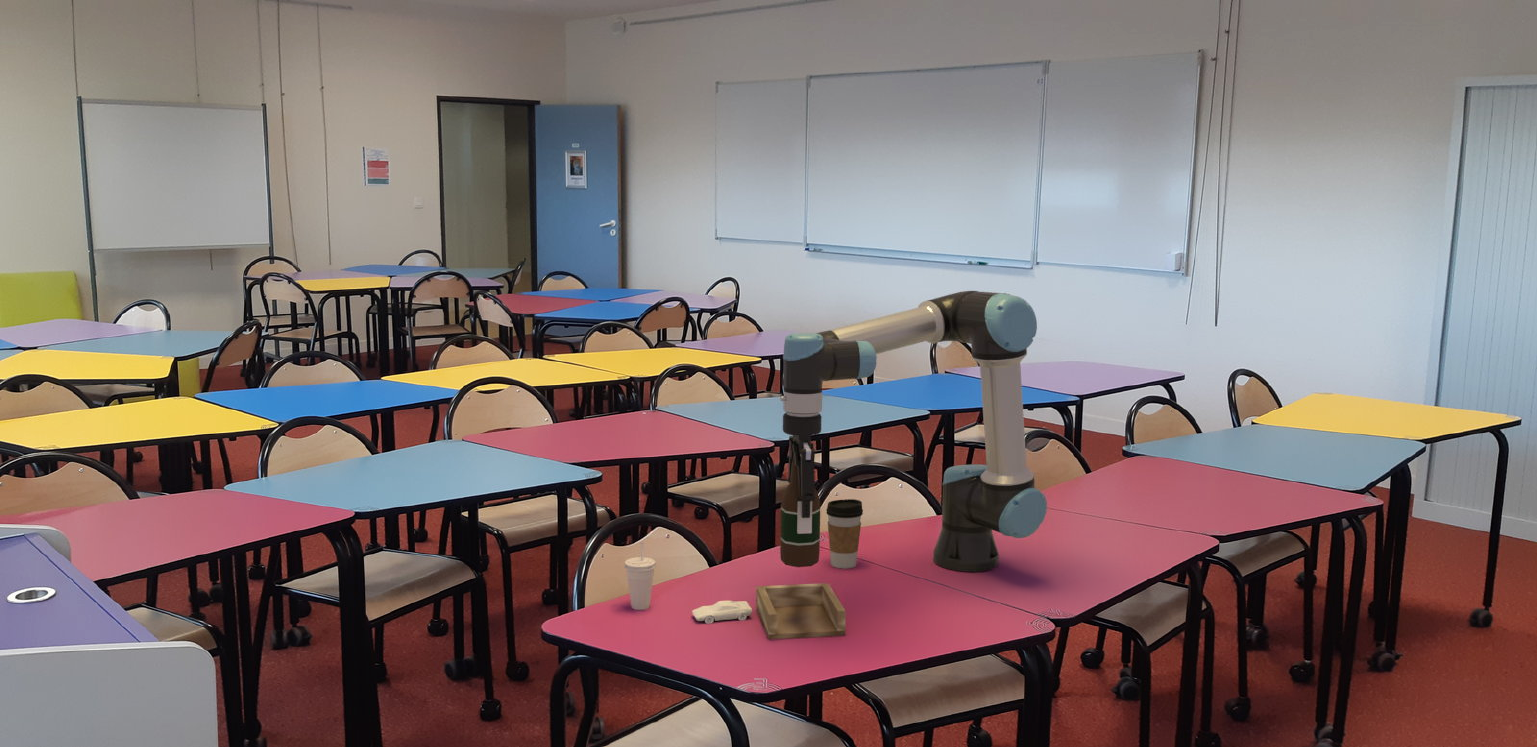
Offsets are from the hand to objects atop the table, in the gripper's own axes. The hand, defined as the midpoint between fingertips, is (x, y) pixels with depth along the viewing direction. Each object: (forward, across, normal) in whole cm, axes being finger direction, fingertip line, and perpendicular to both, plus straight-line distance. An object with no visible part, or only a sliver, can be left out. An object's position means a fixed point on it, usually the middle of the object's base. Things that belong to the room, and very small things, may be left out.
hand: (800, 526), depth 216 cm
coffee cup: (+20, -34, +17) cm, 43 cm away
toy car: (+20, -5, -15) cm, 26 cm away
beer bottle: (+7, 0, 0) cm, 7 cm away
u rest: (+20, 0, 0) cm, 20 cm away
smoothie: (+20, -13, -31) cm, 39 cm away
